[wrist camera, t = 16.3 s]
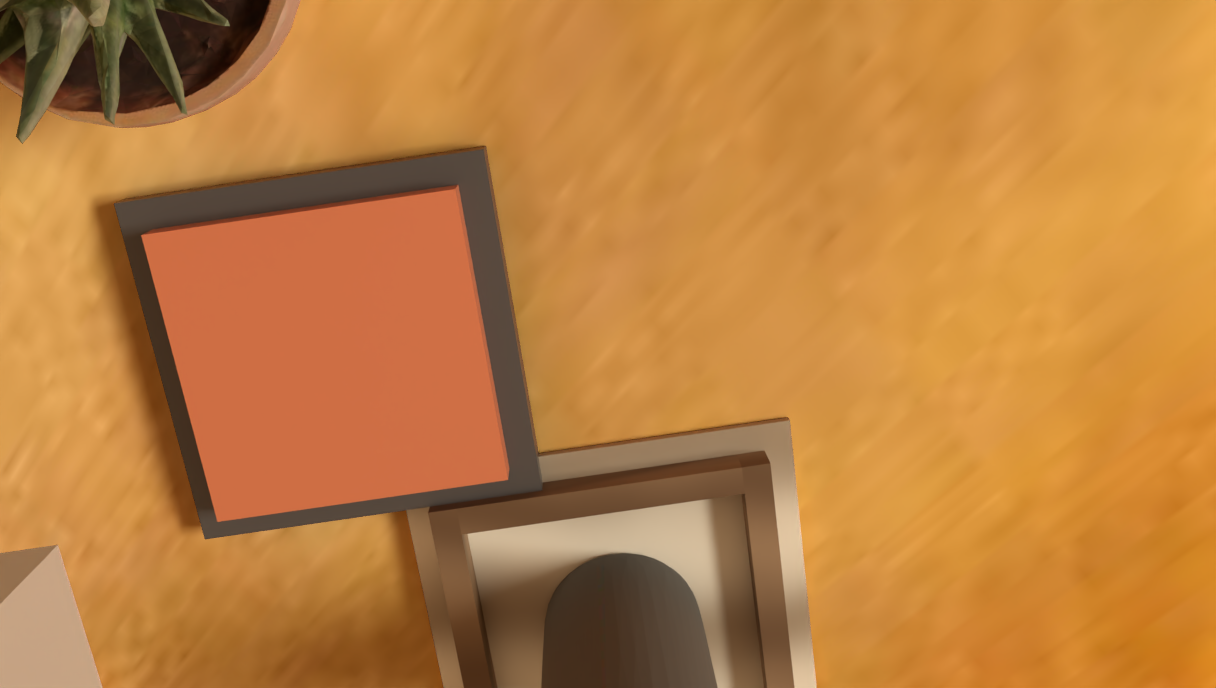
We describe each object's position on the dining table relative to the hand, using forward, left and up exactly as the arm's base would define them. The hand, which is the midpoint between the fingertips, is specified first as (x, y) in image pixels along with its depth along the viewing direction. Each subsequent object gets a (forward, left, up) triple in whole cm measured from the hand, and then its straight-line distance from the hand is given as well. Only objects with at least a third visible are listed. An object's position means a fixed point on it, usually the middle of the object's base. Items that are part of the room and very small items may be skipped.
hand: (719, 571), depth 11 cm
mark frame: (+16, -2, -27) cm, 31 cm away
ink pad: (+4, -10, -27) cm, 29 cm away
